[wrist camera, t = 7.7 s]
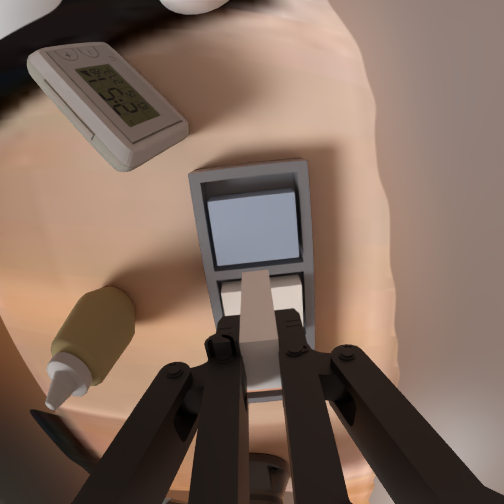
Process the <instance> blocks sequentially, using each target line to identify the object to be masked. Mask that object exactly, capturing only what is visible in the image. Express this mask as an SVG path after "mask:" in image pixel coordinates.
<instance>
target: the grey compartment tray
mask: <svg viewBox="0 0 504 504" xmlns="http://www.w3.org/2000/svg"><path fill="white" fill-rule="evenodd" d="M188 177H189V184H190V190H191V197H192V203H193V209H194V215H195V221H196V227H197V233H198V239H199V244H200V250H201V255H202V261H203V266H204V271H205V277H206V282H207V287H208V292H209V297H210V302H211V307H212V312H213V317H214V322H215V326H216V331H217V324H218V321H219V320H220V319H221V318H222V316H225V312H224V307H223V301H222V296H221V290H222V284H223V282H231V281H241V280H242V272H252V271H261V270H268V272H269V277H278V276H287V275H296V274H298V275H299V278H300V281H301V284H302V304H303V329H304V332H305V336H306V340H307V343H308V345H309V346H310V347H311V349H313V350H314V351H315V296H314V262H313V239H312V220H311V204H310V190H309V177H308V164H307V160H305V159H302V158H295V159H283V160H272V161H262V162H253V163H244V164H236V165H228V166H220V167H213V168H206V169H199V170H194V171H192V172H191V173H189V174H188ZM287 188H291V189H292V190H293V191H294V193H295V205H296V218H297V232H298V247H299V257H296V258H287V259H278V260H269V261H259V262H250V263H241V264H231V265H222V266H218V265H217V259H216V253H215V247H214V241H213V235H212V228H211V222H210V216H209V209H208V200H209V199H210V197H216V196H224V195H232V194H240V193H249V192H258V191H267V190H277V189H287ZM247 395H248V403H258V402H269V401H279V400H283V398H282V389H279V390H269V391H258V392H247Z"/></svg>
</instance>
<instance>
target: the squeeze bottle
mask: <svg viewBox="0 0 504 504" xmlns="http://www.w3.org/2000/svg"><path fill="white" fill-rule="evenodd" d="M134 333H135V307H134V305H133V302H132V300H131V299H130V298H129V296H128V295H127V294H126V293H125V292H123V291H121V290H120V289H118V288H115V287H110V286H109V287H104V288H100V289H97V290H94V291H91V292H89V293H86V294H85V295H84V296H82V297H81V298H80V299H79V300H78V302H77V303H76V305H75V306H74V308H73V310H72V311H71V313H70V314H69V316H68V317H67V319H66V321H65V322H64V324H63V326H62V327H61V329H60V330H59V332H58V334H57V335H56V337H55V339H54V340H53V342H52V346H51V354H52V359H51V360H50V362H49V363H48V365H47V372H48V375H49V377H50V379H51V380H52V382H51V385H50V388H49V392H48V395H47V398H46V402H45V404H46V405H47V407H49V408H50V409H51V410H56V409H57V408H58V407H59V406H60V405H61V404H62V403H63V402H64V401H65V400H66V399H67V398H69V397H70V396H71V395H73V396H83V395H85V394H86V393H87V391H88V389H89V387H90V386H96V385H98V384H100V383H102V382H103V380H104V379H105V377H106V376H107V374H108V373H109V371H110V370H111V369H112V367H113V366H114V364H115V363H116V361H117V360H118V359H119V357H120V356H121V354H122V353H123V351H124V350H125V349H126V347H127V346H128V344H129V343H130V342H131V340H132V338H133V335H134Z"/></svg>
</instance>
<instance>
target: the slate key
mask: <svg viewBox="0 0 504 504" xmlns="http://www.w3.org/2000/svg"><path fill="white" fill-rule="evenodd" d="M208 209H209V216H210V222H211V228H212V235H213V241H214V247H215V253H216V259H217V265H218V266H222V265H231V264H241V263H250V262H259V261H269V260H278V259H287V258H296V257H299V247H298V232H297V218H296V205H295V193H294V191H293V190H292V189H291V188H287V189H277V190H267V191H258V192H249V193H240V194H232V195H224V196H216V197H210V199H209V200H208Z"/></svg>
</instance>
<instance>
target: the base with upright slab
mask: <svg viewBox="0 0 504 504" xmlns="http://www.w3.org/2000/svg"><path fill="white" fill-rule="evenodd" d="M160 1H161V3H162V4H163V5H164V6H165V7H167V8H168V9H169V10H172V11H174V12H176V13H181V14H186V15H187V14H201V13H206V12H209V11H212V10H214V9H217V8H219V7H220V6H222V5H223V4H225V3H226V2H228V1H229V0H160Z"/></svg>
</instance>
